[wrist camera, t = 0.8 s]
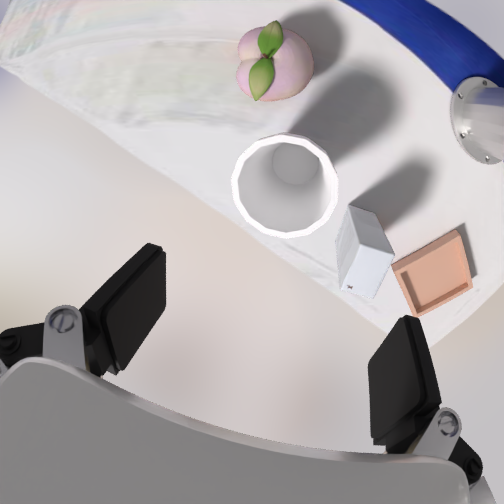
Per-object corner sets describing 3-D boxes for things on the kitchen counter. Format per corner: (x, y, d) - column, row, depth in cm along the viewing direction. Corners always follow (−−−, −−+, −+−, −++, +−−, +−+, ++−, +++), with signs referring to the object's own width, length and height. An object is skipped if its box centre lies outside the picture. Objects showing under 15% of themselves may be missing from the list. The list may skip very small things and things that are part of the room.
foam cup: (338, 136, 31) (350, 149, 20) (323, 202, 36) (325, 247, 25) (264, 121, 32) (237, 127, 21) (255, 187, 37) (226, 225, 26)
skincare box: (361, 249, 38) (373, 301, 28) (334, 241, 38) (338, 291, 28) (376, 211, 35) (396, 254, 25) (347, 202, 35) (359, 242, 25)
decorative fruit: (311, 106, 30) (310, 104, 22) (247, 101, 31) (222, 99, 23) (315, 39, 25) (314, 14, 17) (250, 36, 27) (226, 14, 18)
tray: (455, 229, 32) (460, 234, 31) (468, 280, 35) (473, 287, 34) (390, 265, 38) (393, 272, 36) (411, 311, 41) (414, 319, 39)
